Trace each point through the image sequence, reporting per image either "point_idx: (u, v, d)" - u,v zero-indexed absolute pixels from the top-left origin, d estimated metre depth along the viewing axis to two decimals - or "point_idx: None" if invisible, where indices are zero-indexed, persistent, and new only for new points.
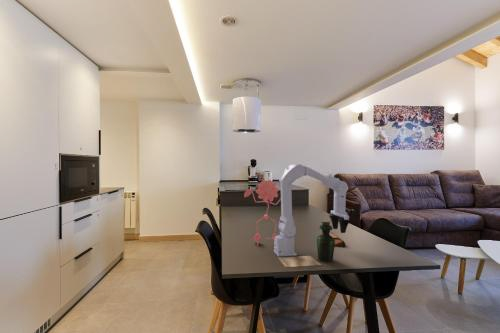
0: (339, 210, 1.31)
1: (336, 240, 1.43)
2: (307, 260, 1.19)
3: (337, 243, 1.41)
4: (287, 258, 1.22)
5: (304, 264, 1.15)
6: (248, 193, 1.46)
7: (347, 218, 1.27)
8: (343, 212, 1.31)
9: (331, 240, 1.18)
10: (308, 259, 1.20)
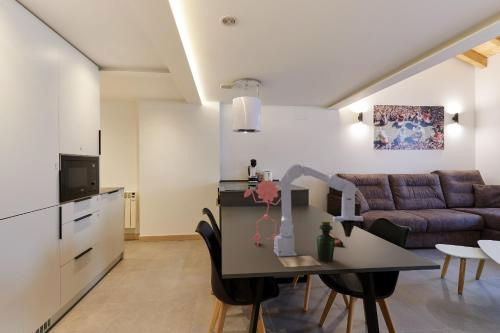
0: None
1: None
2: (307, 260, 1.19)
3: (335, 243, 1.41)
4: (287, 258, 1.22)
5: (304, 264, 1.15)
6: (248, 193, 1.46)
7: (333, 220, 1.21)
8: (343, 215, 1.22)
9: (331, 240, 1.18)
10: (308, 259, 1.20)
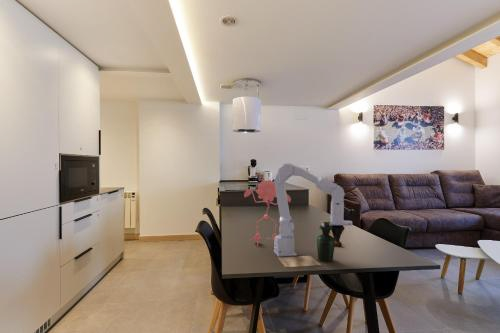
0: None
1: None
2: (307, 260, 1.19)
3: None
4: (287, 258, 1.22)
5: (304, 264, 1.15)
6: (248, 193, 1.46)
7: (322, 225, 1.20)
8: (332, 220, 1.21)
9: (331, 240, 1.18)
10: (308, 259, 1.20)
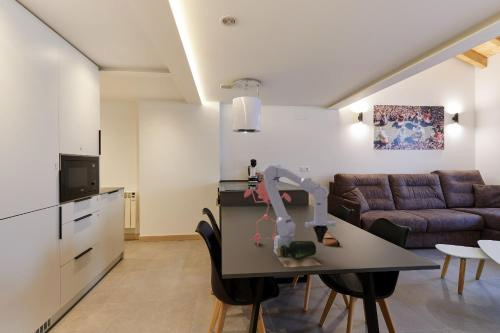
0: (314, 217, 1.21)
1: (331, 240, 1.43)
2: (307, 260, 1.19)
3: (332, 243, 1.41)
4: (287, 258, 1.22)
5: (304, 264, 1.15)
6: (248, 193, 1.46)
7: (305, 225, 1.19)
8: (315, 221, 1.19)
9: (295, 243, 1.20)
10: (308, 259, 1.20)
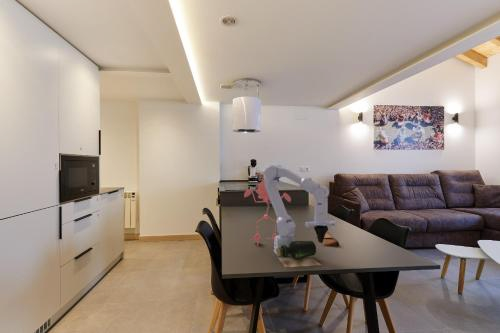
0: None
1: (330, 240, 1.43)
2: (307, 260, 1.19)
3: (331, 243, 1.41)
4: (287, 258, 1.22)
5: (304, 264, 1.15)
6: (248, 193, 1.46)
7: (306, 225, 1.19)
8: (315, 221, 1.19)
9: (295, 243, 1.20)
10: (308, 259, 1.20)
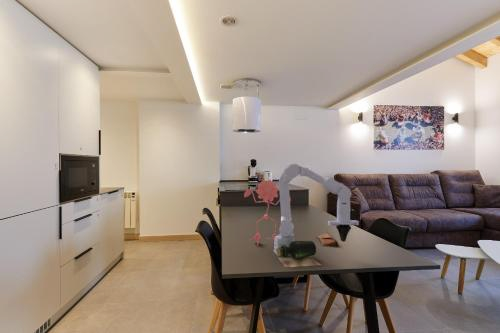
0: (337, 216, 1.23)
1: (329, 240, 1.43)
2: (307, 260, 1.19)
3: (330, 243, 1.41)
4: (287, 258, 1.22)
5: (304, 264, 1.15)
6: (248, 193, 1.46)
7: (329, 224, 1.21)
8: (338, 220, 1.21)
9: (295, 243, 1.20)
10: (308, 259, 1.20)
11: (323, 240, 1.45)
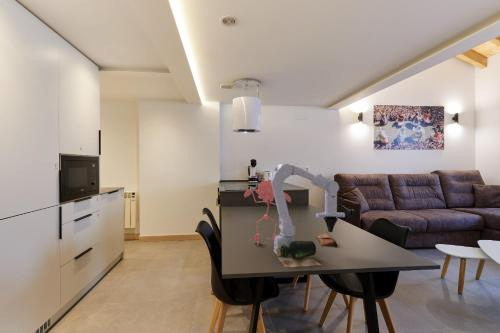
0: None
1: (328, 240, 1.44)
2: (307, 260, 1.19)
3: (329, 243, 1.41)
4: (287, 258, 1.22)
5: (304, 264, 1.15)
6: (248, 193, 1.46)
7: (317, 216, 1.29)
8: (326, 212, 1.30)
9: (295, 243, 1.20)
10: (308, 259, 1.20)
11: (322, 240, 1.45)
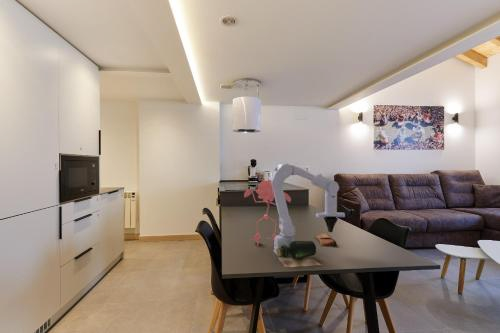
0: None
1: (328, 240, 1.44)
2: (307, 260, 1.19)
3: (328, 243, 1.41)
4: (287, 258, 1.22)
5: (304, 264, 1.15)
6: (248, 193, 1.46)
7: (317, 216, 1.29)
8: (326, 212, 1.30)
9: (295, 243, 1.20)
10: (308, 259, 1.20)
11: (321, 240, 1.45)
